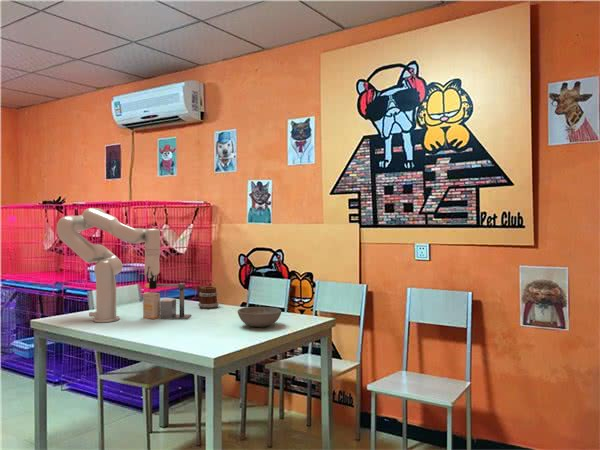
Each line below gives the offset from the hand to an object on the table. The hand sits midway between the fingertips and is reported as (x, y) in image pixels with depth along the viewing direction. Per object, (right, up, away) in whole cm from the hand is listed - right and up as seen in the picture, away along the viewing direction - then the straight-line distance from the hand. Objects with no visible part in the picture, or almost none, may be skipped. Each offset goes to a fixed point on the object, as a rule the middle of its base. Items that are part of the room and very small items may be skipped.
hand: (152, 288), depth 246 cm
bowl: (+56, -17, -14) cm, 60 cm away
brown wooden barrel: (+20, -16, +38) cm, 46 cm away
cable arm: (+5, 0, +7) cm, 8 cm away
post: (+13, -16, +7) cm, 22 cm away
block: (+6, -16, +8) cm, 19 cm away
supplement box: (-3, -16, +7) cm, 18 cm away
